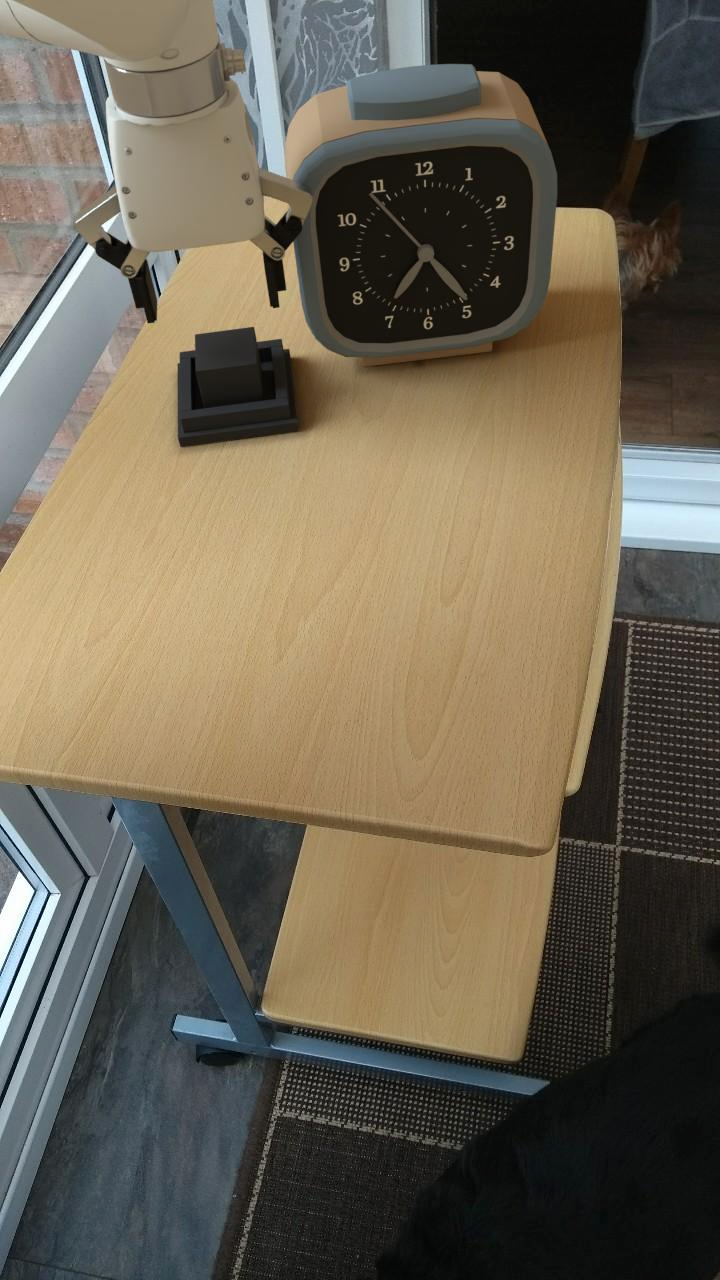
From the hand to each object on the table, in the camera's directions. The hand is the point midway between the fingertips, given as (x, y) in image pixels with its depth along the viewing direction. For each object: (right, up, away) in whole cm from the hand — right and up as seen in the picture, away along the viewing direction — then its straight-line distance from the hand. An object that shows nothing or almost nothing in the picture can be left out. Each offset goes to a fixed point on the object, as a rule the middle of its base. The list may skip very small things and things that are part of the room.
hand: (213, 305), depth 80 cm
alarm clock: (+17, +1, +12) cm, 21 cm away
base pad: (+1, -6, +8) cm, 10 cm away
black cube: (+1, -5, +7) cm, 9 cm away
